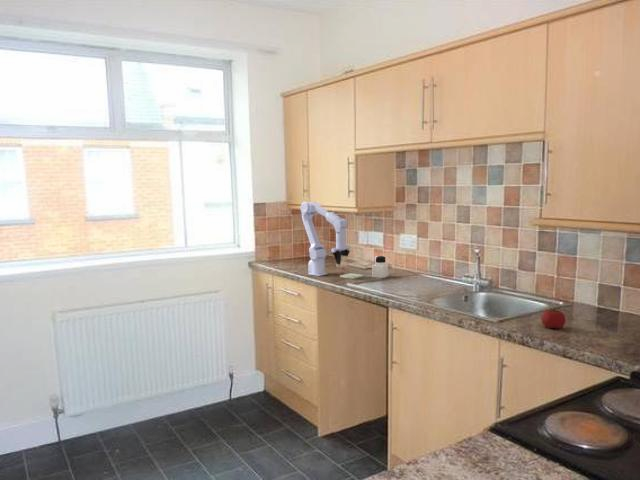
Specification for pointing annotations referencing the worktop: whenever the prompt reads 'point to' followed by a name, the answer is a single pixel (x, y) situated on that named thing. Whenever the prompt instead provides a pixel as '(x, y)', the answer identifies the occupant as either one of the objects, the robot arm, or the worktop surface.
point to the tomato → (553, 319)
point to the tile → (351, 276)
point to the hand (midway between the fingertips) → (341, 263)
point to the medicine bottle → (380, 267)
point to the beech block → (342, 262)
